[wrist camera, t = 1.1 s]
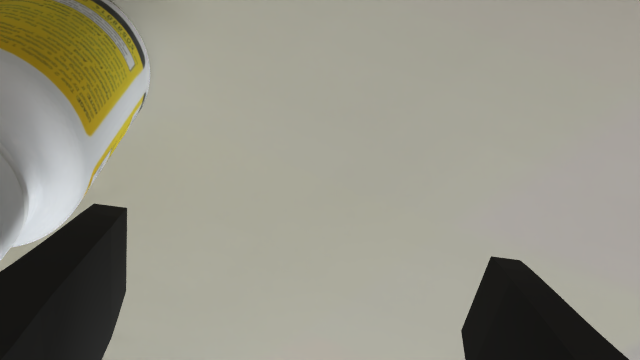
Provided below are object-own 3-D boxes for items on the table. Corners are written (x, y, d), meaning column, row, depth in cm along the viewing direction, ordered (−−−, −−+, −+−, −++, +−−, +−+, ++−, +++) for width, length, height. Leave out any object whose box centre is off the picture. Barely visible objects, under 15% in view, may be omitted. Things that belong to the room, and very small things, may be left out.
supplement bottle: (-21, -36, 18) (-306, 64, 10) (155, -7, 19) (32, 112, 10) (-4, 121, 21) (-217, 310, 12) (150, 143, 21) (48, 338, 13)
